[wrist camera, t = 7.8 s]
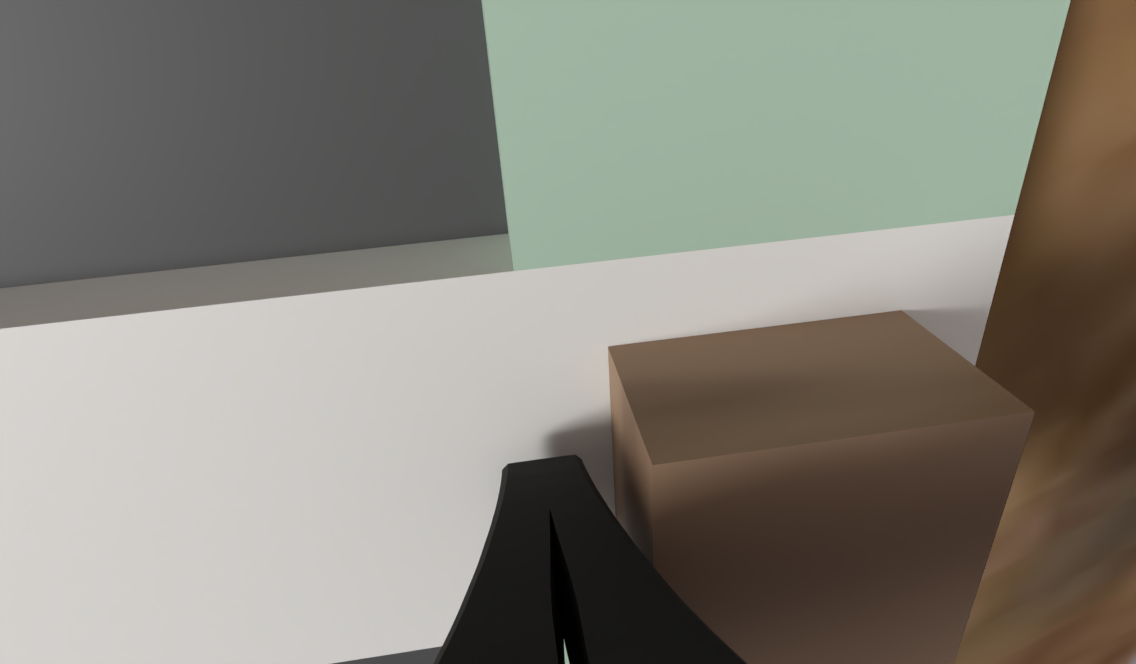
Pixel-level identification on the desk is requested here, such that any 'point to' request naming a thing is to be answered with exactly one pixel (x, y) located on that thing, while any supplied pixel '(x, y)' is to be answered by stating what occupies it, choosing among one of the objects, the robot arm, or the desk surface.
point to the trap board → (430, 273)
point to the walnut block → (816, 484)
